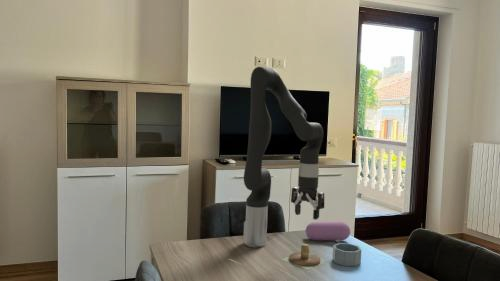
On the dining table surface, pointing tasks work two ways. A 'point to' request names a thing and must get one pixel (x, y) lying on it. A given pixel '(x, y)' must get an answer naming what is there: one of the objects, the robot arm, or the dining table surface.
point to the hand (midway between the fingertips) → (306, 216)
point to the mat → (305, 266)
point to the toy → (328, 231)
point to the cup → (346, 254)
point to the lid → (304, 257)
